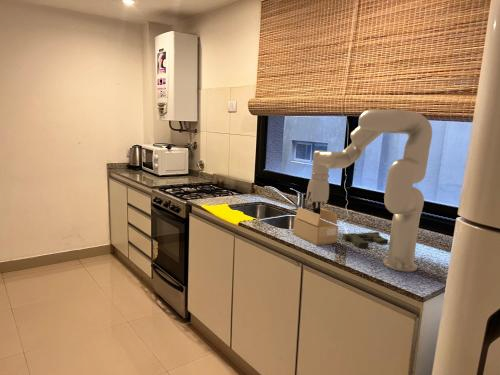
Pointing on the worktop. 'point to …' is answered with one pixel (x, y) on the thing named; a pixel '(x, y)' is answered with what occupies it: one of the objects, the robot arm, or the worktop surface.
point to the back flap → (328, 216)
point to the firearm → (364, 239)
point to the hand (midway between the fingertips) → (316, 215)
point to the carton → (316, 231)
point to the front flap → (308, 216)
